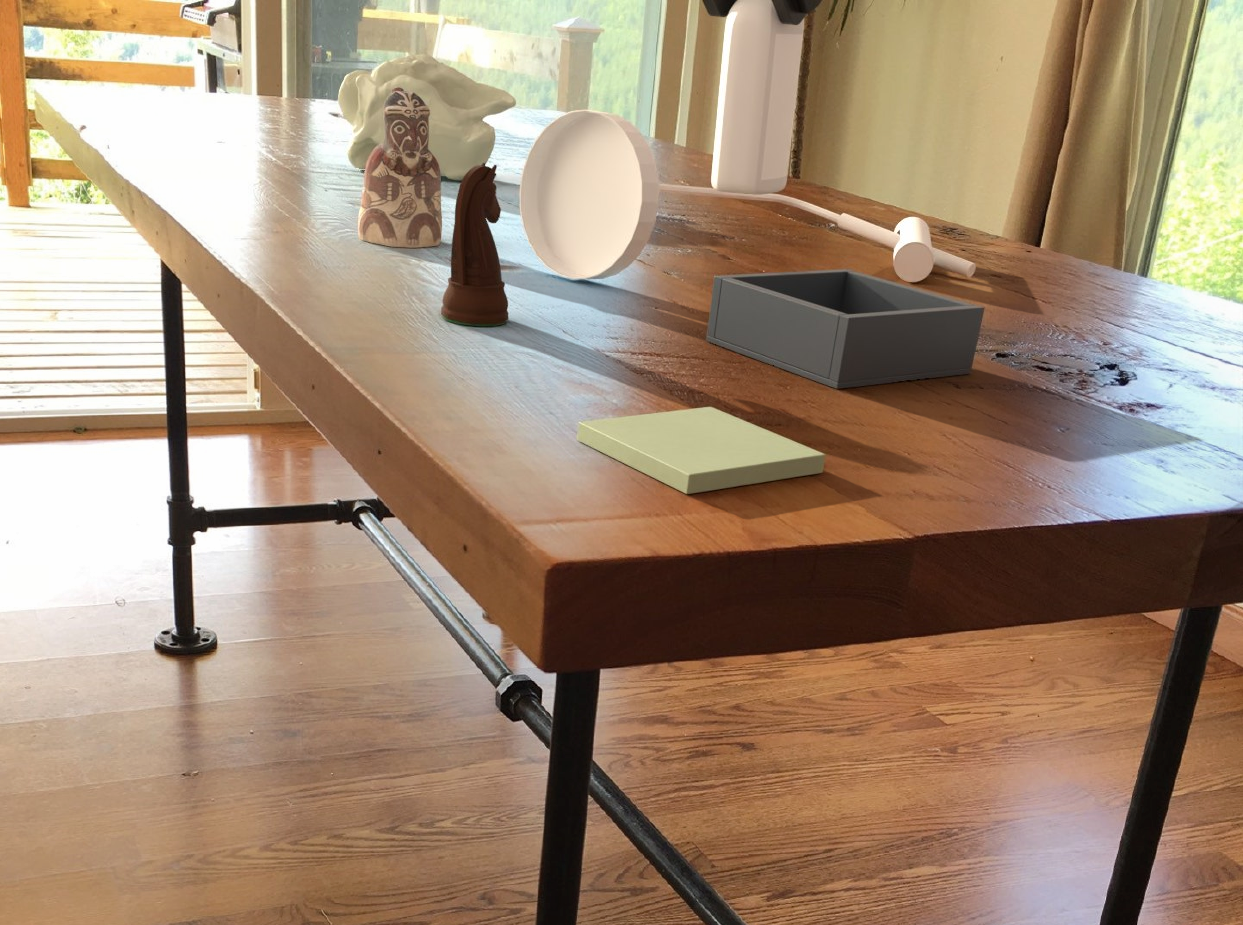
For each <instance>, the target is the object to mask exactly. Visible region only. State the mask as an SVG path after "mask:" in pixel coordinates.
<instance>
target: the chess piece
mask: <svg viewBox="0 0 1243 925" xmlns="http://www.w3.org/2000/svg"><path fill="white" fill-rule="evenodd" d="M497 167H498V166H497V164H494V165H493V166H492V167H490V166H487V165H485V163H483V164H482V165H477V166H474V167H473V168H471V169H470V170H469V171H468V172H467V173H466V174H465V176H464V178H463V179H462V180H461V182H460V184H459V187H458V191H457V195H456V201H455V207H454V225H453V230H452V237H451V238H452V239H451V253H450V277H448V278H447V282H448V285H447V287H446V288H445V291H444V294H443V296H442V306H441V308H440V315H441V317H442V319H443V320H445V321H447V322H449V323H453V324H458V325H463V326H471V327H495V326H501V325H504V324H506V323H507V321H508V320H509V312H508V308H509V301H508V297H507V294H506V292H505V286H506V282H505V281H503V277H502V276H503V275H502V269H501V263H500V257H499V253H498V249H497V245H496V242H495V239H494V236H493V233H492V230H491V228H490V226H489V224H497V222H498V221H499V219H500V218H501V212H502V208H501V206H500V204H499V200H498V197H497V185H496V184H495V183H494V181H495V178H496V177H497V173H496V171H497Z"/></svg>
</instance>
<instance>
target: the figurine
mask: <svg viewBox="0 0 1243 925" xmlns="http://www.w3.org/2000/svg"><path fill="white" fill-rule="evenodd" d="M429 115H430V109H429V108H428V107H427V106H426V104H425V103H424V101H423V100H422V99H421V98H420V97H419V96H418V95H416V94H415V93H414V92H410V91H404V90H403V89H402V88H400V87H395V88H394V89H392V93H391V94H390V95H389V96H388V98H387V99H386V101H385V103H384V106H383V122H384V142H383V143H381V144H379V145H378V146H376V147H375V149H374V150H373V151H372V153H371V154H370V156H369V158H368V160H367V163H366V167H365V171H363V172H364V173H363V174H364V176H363V185H362V193H361V201H360V205H359V211H358V216H357V232H358V238H359V240H361V241H363V242H368V243H371V244H376V245H381V246H386V247H392V248H411V249H416V248H417V249H418V248H429V247H437V246H440V245H441V242H442V233H443V232H442V231H443V214H442V189H441V188H442V186H441V185H442V179H441V178H442V177H441V176H442V175H440V168H439V164H438V162H437V160H436V158H435V157H434V156H433V154H432V153H431V152H430V150H428V141H429Z"/></svg>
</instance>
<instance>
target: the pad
mask: <svg viewBox="0 0 1243 925" xmlns="http://www.w3.org/2000/svg"><path fill="white" fill-rule="evenodd" d="M576 435H577V436H576V441H578V442H580V443H582V444H583V445H585V446H587V447H590V448H592V449H593V450H596V451H598V452H600V453H602V454H604V455H606V456H608V457H610V458H613V459H614V460H616V461H618V462H620V463H622V464H625V465H626V466H628V467H630V468H632V469H635V470H636V471H639V472H640V473H642V474H644V475H647V476H648V477H651V478H653V479H654V480H657V481H659V482H661V483H663V484H665V485H667V486H669V487H671V488H673V489H675V490H677V491H679V492H681V493H683V494H685V495H692V494H698V493H705V492H710V491H717V490H723V489H731V488H735V487H742V486H749V485H753V484H754V485H755V484H761V483H767V482H773V481H779V480H781V481H782V480H787V479H793V478H798V477H805V476H812V475H818V474H823V472H824V467H825V462H826V461H825V460H826V454H825V453H823V452H821V451H818V450H816V449H813V448H811V447H809V446H806V445H804V444H801V443H799V442H796V441H794V440H792V439H790V438H787V437H785V436H782V435H780V434H778V433H775V432H773V431H770V430H768V429H766V428H763V427H760V426H758V425H756V424H753V423H751V422H748V421H746V420H745V419H741V418H739V417H736V416H734V415H732V414H729V413H728V412H724V411H722V410H720V409H717V408H715V407H712V406H704V407H696V408H688V409H677V410H670V411H661V412H660V411H659V412H654V413H645V414H634V415H627V416H618V417H611V418H610V417H609V418H602V419H593V420H584V421H578V426H577V434H576Z"/></svg>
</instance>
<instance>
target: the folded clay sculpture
mask: <svg viewBox="0 0 1243 925" xmlns="http://www.w3.org/2000/svg"><path fill="white" fill-rule="evenodd" d="M395 87H400V88H402V89H403V90H404V91H410V92H414V93H415V94H416V95H418V96H419V97H420V98H421V99H422V100H423V101H424V103H425V104H426V106H427V107H428V108H429V109H430V115H429V141H428V150H430V152H431V153H432V154H433V156H434V157H435V158H436V160H437V162H438V164H439V168H440V175H441V176H444V177H446V178H447V179H449V180H453V181H462V179H463V178H464V176H465V174H466V173H467V172H468V171H469V170H470V169H471V168H473V167H474V166H477V165H482V164H483V163H485V166H487V165H486V164H488V161H489V159H490V157H491V155H492V153H493V150H494V148H495V143H496V139H497V138H496V130H495V127H494V126H491V125H490V124H489V123H488V122H486V121H484V119H485V118H486V117H488V116H493V115H498V114H501V113H503V112H506V111H508V110H509V109H510V110H511V109H512V108H514V107H516V105H517V101H516V99H515V97H514V96H513V95H512V94H511V93H509V92H508V91H506V90H505V89H501V88H499V87H495V86H491V85H488V84H486V83H485V84H484V83H481V82H476V81H475V80H474V79H472V78H471V77H469V76H467V75H465V74H464V73H463V72H460V71H459V70H458V69H456V68H455V67H453V66H449V65H447V64H445V63H444V62H440V61H438V60H437V59H436V58H435V57H433V56H431V55H428V54H425V53H421V54H410V55H406V56H400V57H395V58H394V59H392V60H385V61H384V62H382V63H381V64H380V65H378V66H377V67H374V68H373V69H372V70H371V71H369V70H364V69H361V70H360V69H356V70H353V71H352V72H350V73H348V74H346V75H345V76H344V79H343V81H342V83H341V85H340V87H339V90H338V95H337V103H338V105H339V107H340V108H339V109H340V110H341V113H342V117H343V119H344V120H346V121H347V122H348V123H349V124H350V125H351V126H352V129H351V132H352V135H351V136H350V138H349V141H348V144H347V148H346V154H347V158H348V161H349V163H350V164H351V165H352V166H353V167H354V169H356V168H359V169H365V167H366V163H367V160H368V158H369V156H370V154H371V153H372V151H373V150H374V149H375V147H376V146H378V145H379V144H381V143H383V142H384V122H383V106H384V103H385V101H386V99H387V98H388V96H389V95H390V94H391V93H392V89H394V88H395Z"/></svg>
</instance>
